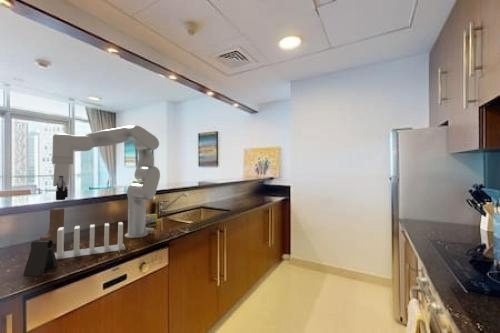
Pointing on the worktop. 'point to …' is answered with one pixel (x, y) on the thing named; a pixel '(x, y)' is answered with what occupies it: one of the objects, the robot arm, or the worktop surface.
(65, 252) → the mat
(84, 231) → the worktop surface
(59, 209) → the wooden block
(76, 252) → the domino
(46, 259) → the phone stand
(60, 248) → the domino
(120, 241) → the domino
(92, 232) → the domino
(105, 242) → the domino
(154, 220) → the candy box
